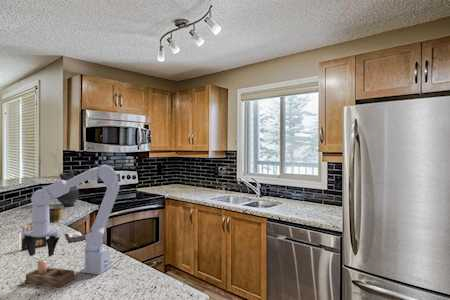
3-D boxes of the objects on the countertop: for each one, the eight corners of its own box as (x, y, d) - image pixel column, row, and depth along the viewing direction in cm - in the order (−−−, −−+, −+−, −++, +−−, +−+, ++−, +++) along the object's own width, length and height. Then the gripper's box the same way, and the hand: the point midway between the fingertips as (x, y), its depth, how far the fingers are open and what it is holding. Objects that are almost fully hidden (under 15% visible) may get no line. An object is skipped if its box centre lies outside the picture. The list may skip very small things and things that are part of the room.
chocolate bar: (69, 242, 159) (65, 233, 173) (69, 243, 159) (65, 235, 173) (87, 238, 164) (82, 231, 179) (87, 240, 164) (82, 232, 179)
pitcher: (51, 207, 248) (50, 172, 247) (68, 203, 268) (68, 169, 268) (70, 208, 245) (69, 172, 244) (86, 203, 265) (85, 170, 265)
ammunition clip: (46, 245, 156) (45, 222, 155) (46, 246, 154) (46, 223, 154) (21, 250, 149) (20, 226, 148) (21, 251, 147) (21, 227, 147)
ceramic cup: (66, 219, 208) (66, 205, 208) (57, 223, 198) (57, 208, 198) (49, 219, 210) (49, 205, 210) (39, 223, 200) (39, 208, 200)
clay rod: (48, 274, 118) (48, 259, 118) (43, 278, 115) (43, 262, 115) (40, 274, 118) (40, 259, 118) (35, 278, 115) (35, 262, 115)
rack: (75, 277, 117) (75, 270, 117) (59, 287, 109) (59, 279, 109) (42, 273, 121) (42, 266, 121) (24, 282, 113) (24, 274, 113)
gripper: (65, 218, 119) (65, 251, 120) (30, 218, 120) (31, 251, 120) (54, 222, 112) (54, 258, 113) (17, 222, 113) (18, 258, 113)
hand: (41, 255), depth 116 cm, fingers open, 7 cm apart
